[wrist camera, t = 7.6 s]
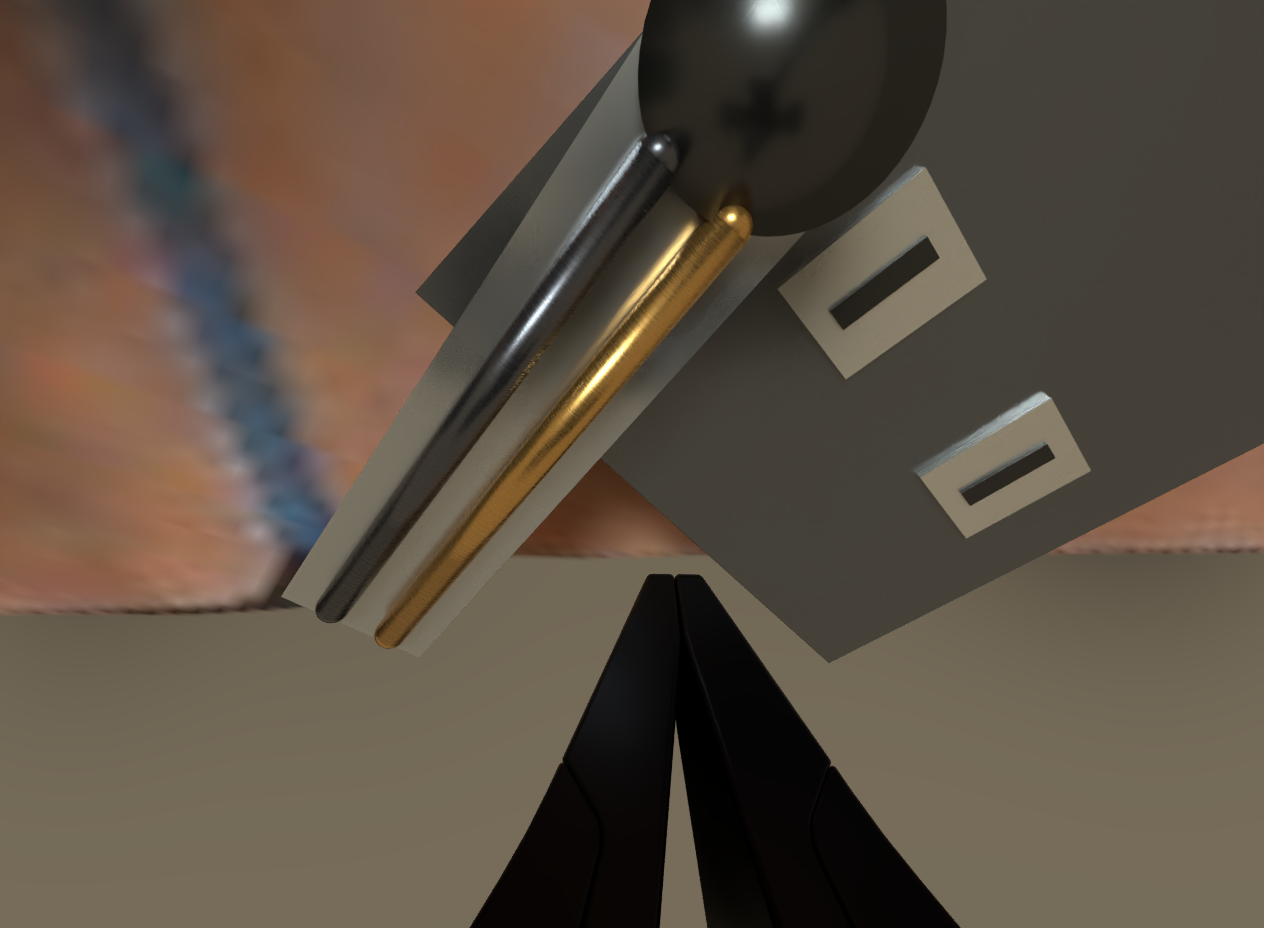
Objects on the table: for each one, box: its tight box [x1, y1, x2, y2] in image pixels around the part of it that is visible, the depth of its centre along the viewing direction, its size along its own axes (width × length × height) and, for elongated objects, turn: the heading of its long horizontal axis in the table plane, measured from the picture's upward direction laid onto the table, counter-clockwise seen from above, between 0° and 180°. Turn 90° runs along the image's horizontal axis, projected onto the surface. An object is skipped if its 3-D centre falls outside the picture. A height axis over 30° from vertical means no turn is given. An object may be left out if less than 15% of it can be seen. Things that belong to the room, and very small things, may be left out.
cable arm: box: [281, 0, 947, 657], centre depth 12 cm, size 4×18×3 cm, turn 141°
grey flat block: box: [416, 0, 1264, 663], centre depth 14 cm, size 20×18×4 cm
